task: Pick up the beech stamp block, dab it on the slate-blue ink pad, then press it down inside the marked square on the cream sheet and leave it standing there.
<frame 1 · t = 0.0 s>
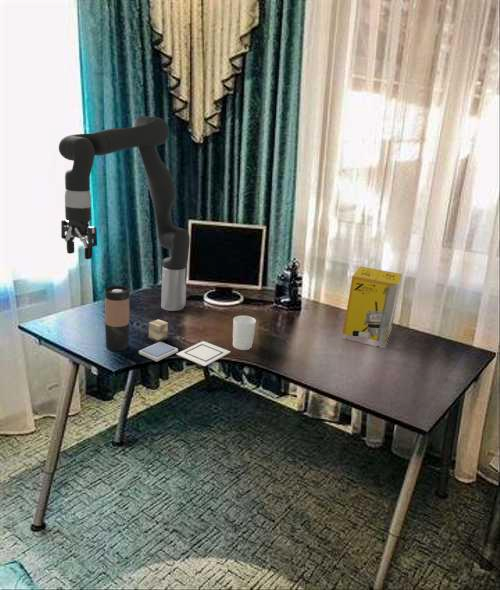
hand: (79, 255, 155), 29 cm above the table, fingers open, 8 cm apart
packaging box: (366, 336, 190), on the table
stamp: (158, 338, 171), on the table
ink pad: (158, 352, 161), on the table
white cup: (242, 346, 171), on the table
travel mug: (117, 346, 163), on the table
sheet: (203, 353, 163), on the table
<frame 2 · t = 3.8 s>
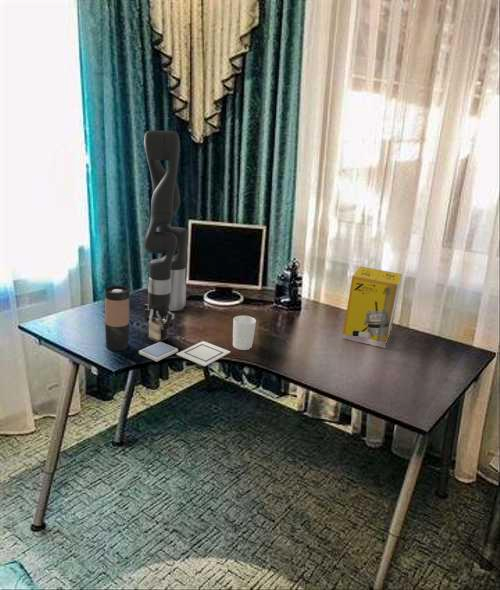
hand: (157, 336, 171), 1 cm above the table, fingers closed on stamp, 4 cm apart
stamp: (157, 338, 171), on the table, touching gripper
everything else where it was.
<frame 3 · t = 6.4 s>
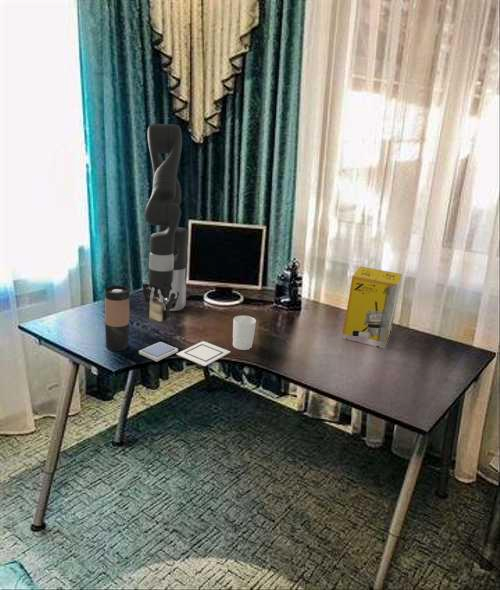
hand: (159, 317, 157), 12 cm above the table, fingers closed on stamp, 4 cm apart
stamp: (159, 320, 157), point 12 cm above the table, touching gripper
everything else where it was.
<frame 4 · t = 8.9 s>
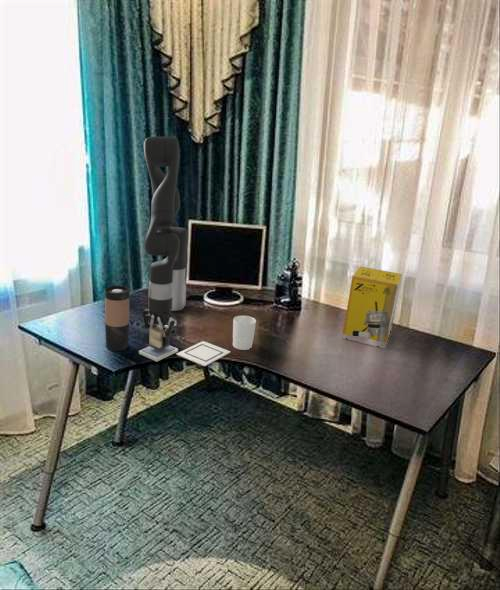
hand: (159, 343, 160), 3 cm above the table, fingers closed on stamp, 4 cm apart
stamp: (159, 346, 160), point 2 cm above the table, touching gripper
everything else where it was.
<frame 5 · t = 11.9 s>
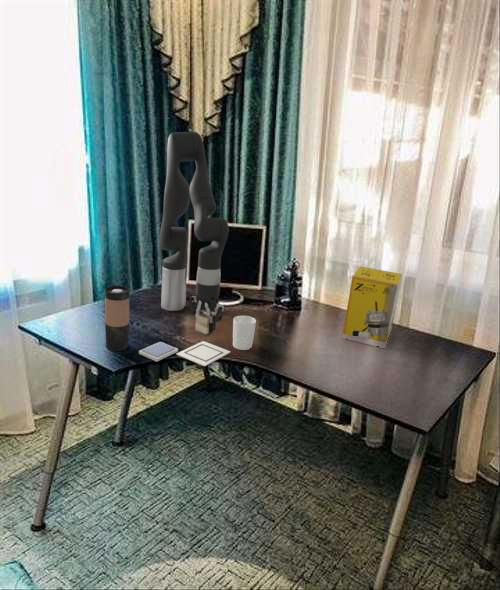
hand: (205, 329, 160), 9 cm above the table, fingers closed on stamp, 4 cm apart
stamp: (204, 332, 160), point 8 cm above the table, touching gripper
everything else where it was.
when the fingers open (1 cm above the table, at t = 14.5 s): stamp stays where it is, resting on sheet.
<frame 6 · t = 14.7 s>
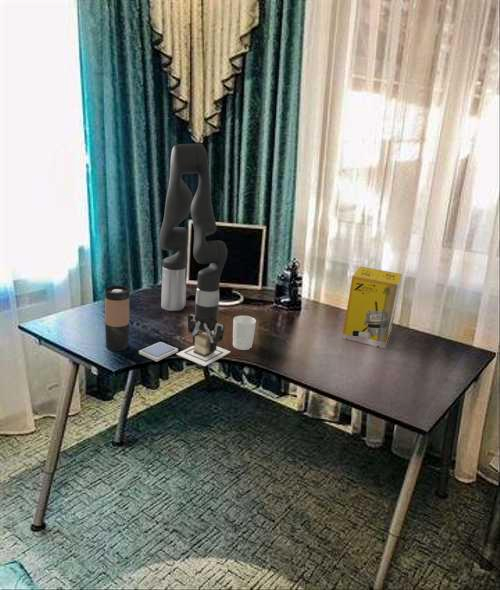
hand: (204, 348, 163), 2 cm above the table, fingers open, 6 cm apart
stamp: (203, 352, 163), resting on sheet
everything else where it was.
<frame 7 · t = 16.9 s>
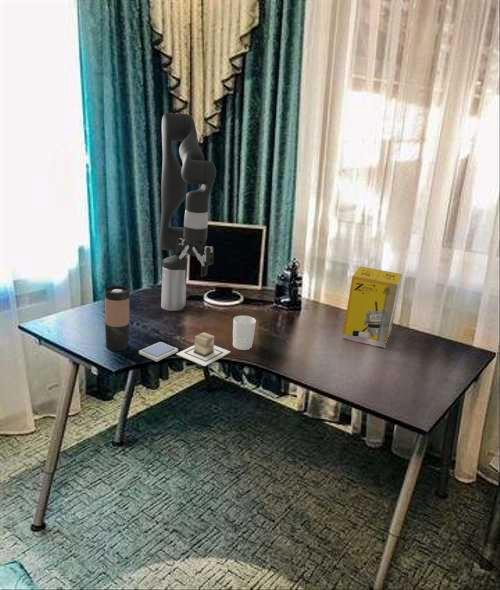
hand: (193, 272, 161), 26 cm above the table, fingers open, 8 cm apart
nothing on the table moved.
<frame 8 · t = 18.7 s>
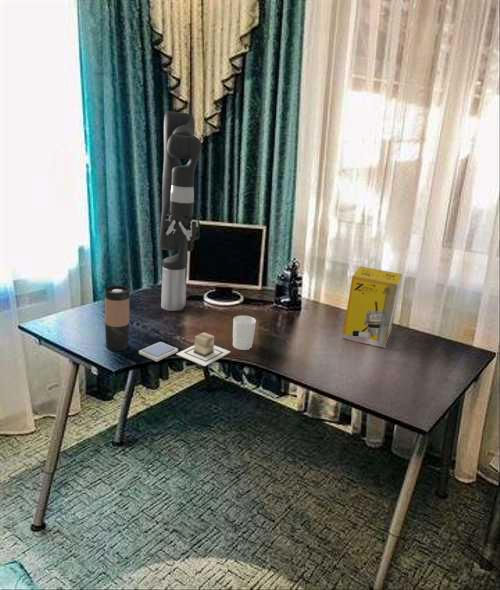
hand: (179, 248, 164), 32 cm above the table, fingers open, 8 cm apart
nothing on the table moved.
at the end: stamp inside the target area on the sheet (0.1 cm from its centre), point 0.3 cm above the sheet's base; stamp tilted 0°; the gripper is holding nothing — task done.
